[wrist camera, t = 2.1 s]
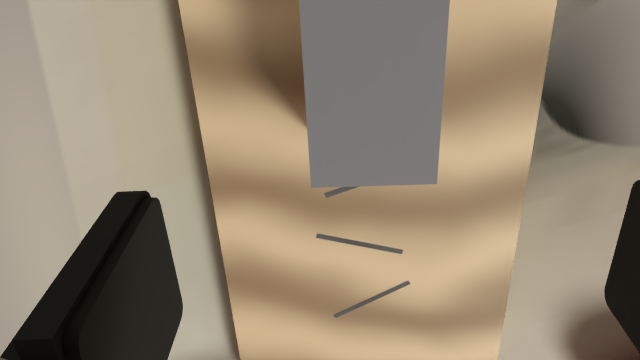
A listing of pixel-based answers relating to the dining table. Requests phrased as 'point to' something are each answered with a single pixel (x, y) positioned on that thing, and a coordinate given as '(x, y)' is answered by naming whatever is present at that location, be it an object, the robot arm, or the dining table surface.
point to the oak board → (366, 191)
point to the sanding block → (373, 90)
